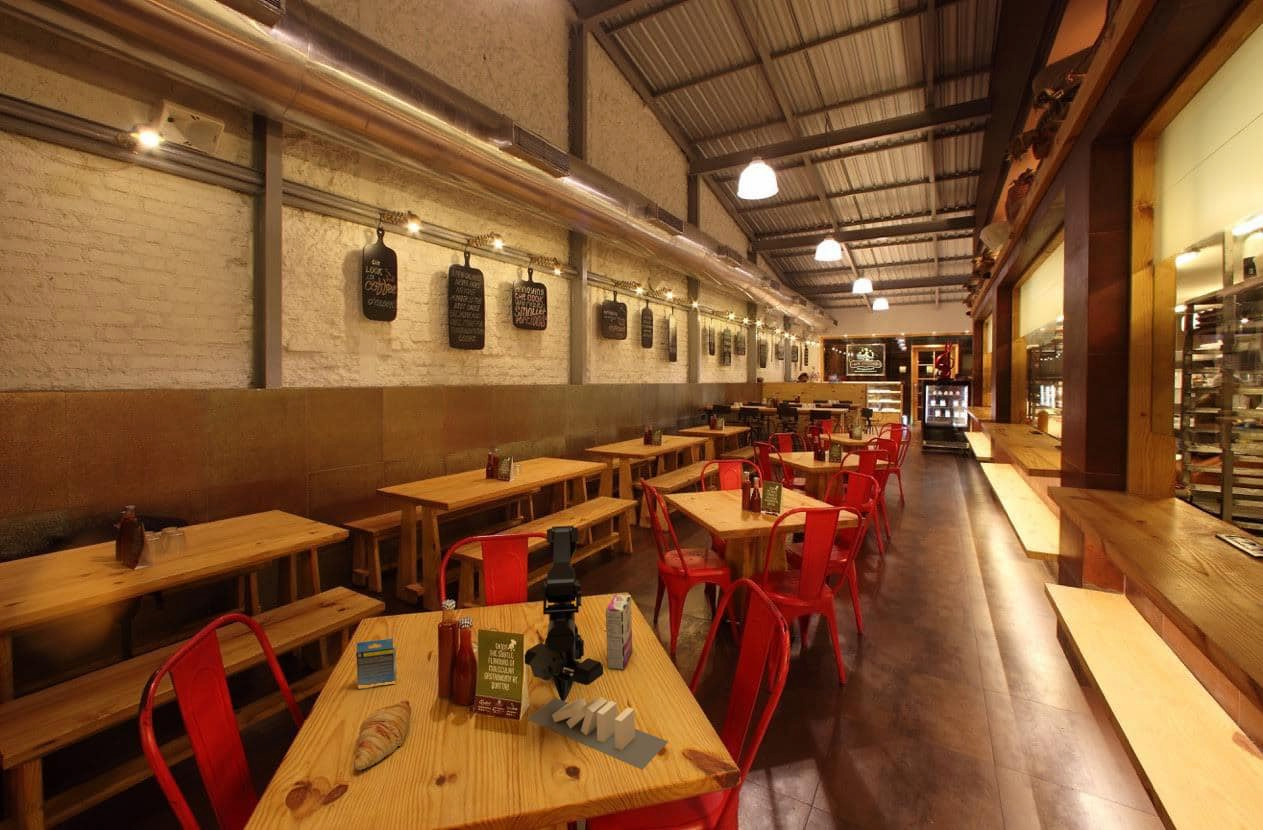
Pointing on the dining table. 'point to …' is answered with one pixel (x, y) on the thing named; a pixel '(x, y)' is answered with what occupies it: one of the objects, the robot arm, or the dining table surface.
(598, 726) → the domino
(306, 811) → the dining table surface
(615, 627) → the candy bar box
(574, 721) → the domino
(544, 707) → the metal plate
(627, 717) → the domino
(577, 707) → the domino
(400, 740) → the croissant
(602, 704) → the domino
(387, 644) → the label tape box
